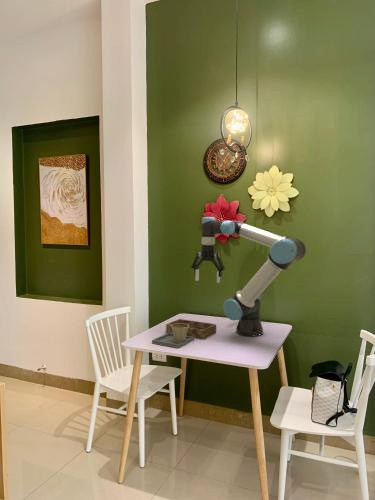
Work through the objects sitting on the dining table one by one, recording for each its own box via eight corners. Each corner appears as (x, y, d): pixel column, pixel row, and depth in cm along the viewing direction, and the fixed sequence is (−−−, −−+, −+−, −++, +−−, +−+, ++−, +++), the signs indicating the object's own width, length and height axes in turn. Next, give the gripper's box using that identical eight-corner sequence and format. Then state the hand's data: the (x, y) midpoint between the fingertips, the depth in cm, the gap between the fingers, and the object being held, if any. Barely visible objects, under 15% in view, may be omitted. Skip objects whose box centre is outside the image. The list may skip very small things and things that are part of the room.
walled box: (216, 333, 219) (216, 324, 219) (203, 339, 206) (204, 330, 206) (179, 327, 231) (179, 318, 231) (166, 333, 218) (166, 324, 218)
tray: (194, 340, 205) (194, 337, 205) (178, 348, 191) (178, 345, 191) (168, 335, 213) (168, 332, 213) (151, 343, 199) (151, 340, 199)
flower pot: (190, 339, 204) (190, 323, 204) (187, 345, 195) (187, 328, 194) (172, 338, 206) (172, 322, 205) (169, 344, 196) (169, 327, 196)
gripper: (231, 244, 216) (230, 282, 218) (192, 243, 229) (191, 279, 230) (225, 245, 210) (225, 284, 211) (185, 243, 222) (185, 280, 224)
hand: (207, 281), depth 221 cm, fingers open, 13 cm apart
